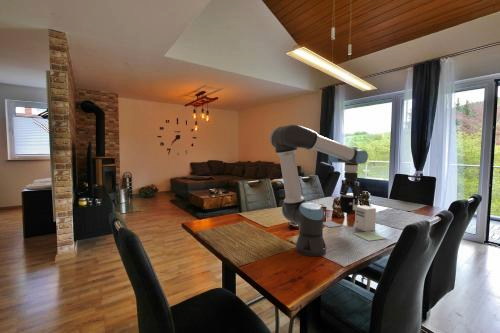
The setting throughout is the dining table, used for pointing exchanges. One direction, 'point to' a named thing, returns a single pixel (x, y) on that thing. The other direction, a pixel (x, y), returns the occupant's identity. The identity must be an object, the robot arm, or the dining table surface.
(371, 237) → the sage coaster
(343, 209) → the mug
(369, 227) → the wall box
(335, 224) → the slate coaster
